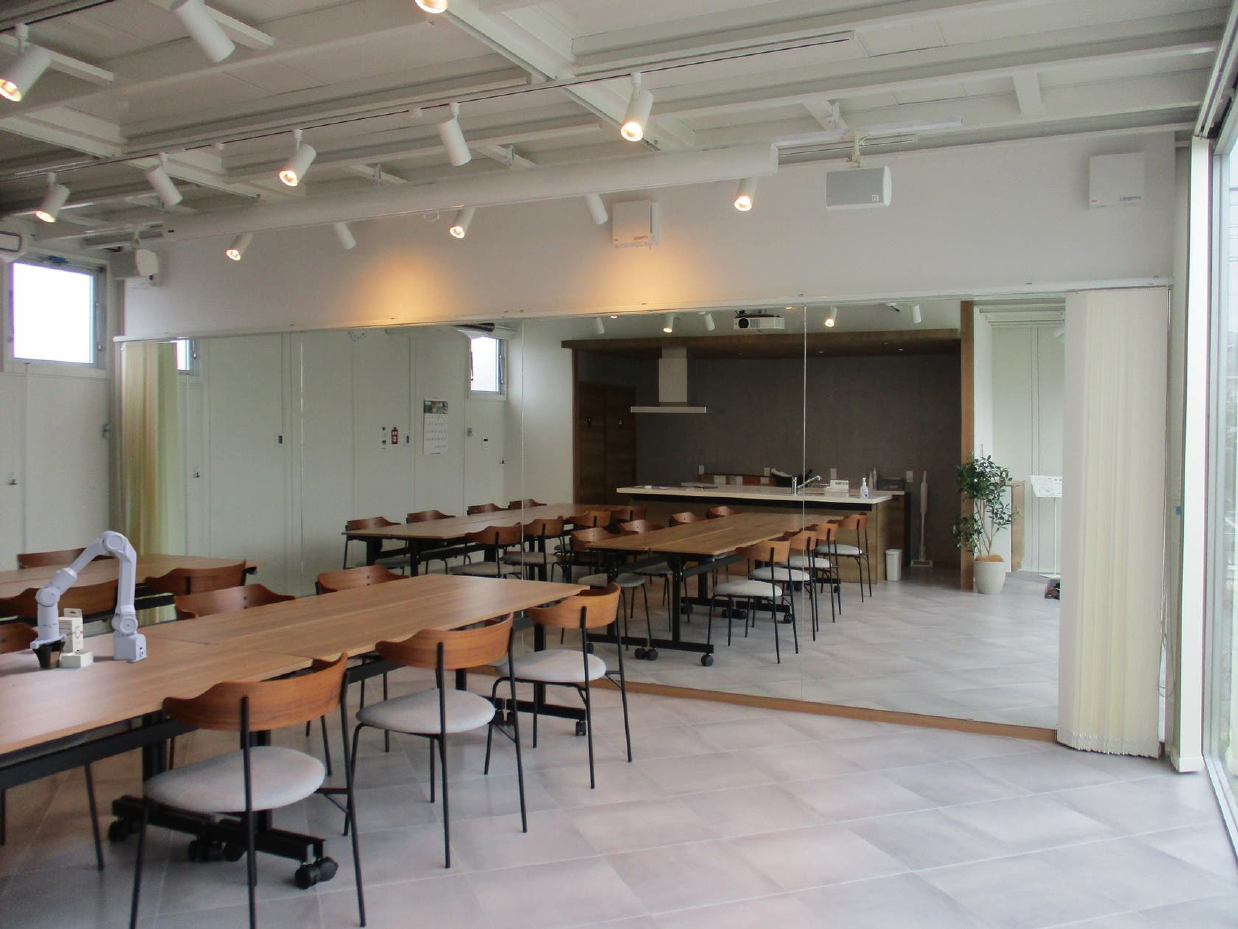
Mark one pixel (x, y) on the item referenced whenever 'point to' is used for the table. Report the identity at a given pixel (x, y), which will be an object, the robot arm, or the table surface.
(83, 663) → the blueprint board
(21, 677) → the table surface
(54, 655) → the walnut block
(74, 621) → the ink cartridge box
